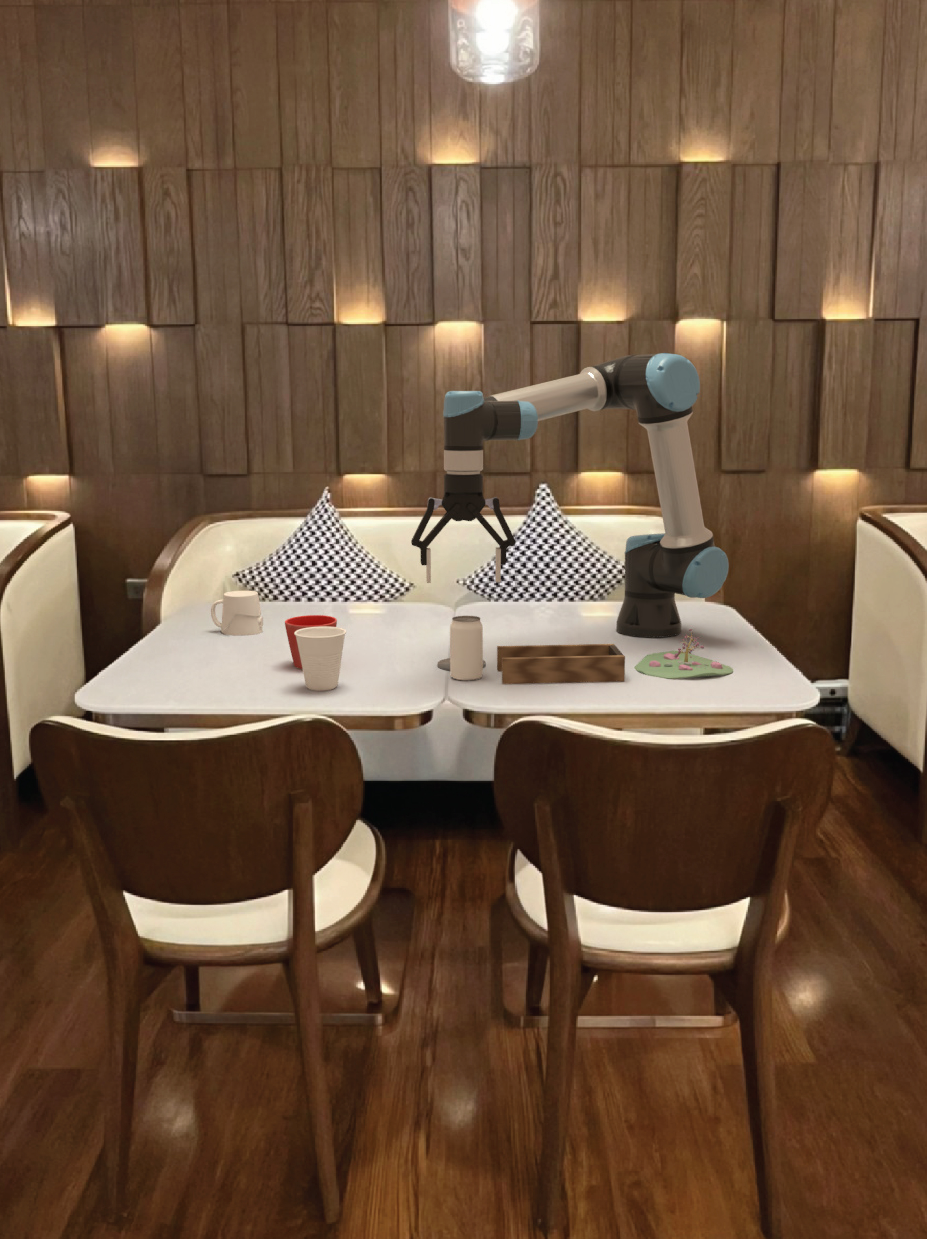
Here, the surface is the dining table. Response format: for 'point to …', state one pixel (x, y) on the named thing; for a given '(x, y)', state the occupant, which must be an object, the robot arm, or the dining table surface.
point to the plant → (681, 664)
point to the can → (466, 648)
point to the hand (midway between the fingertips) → (463, 581)
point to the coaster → (445, 664)
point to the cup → (320, 656)
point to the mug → (239, 613)
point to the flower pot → (301, 623)
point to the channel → (560, 663)
